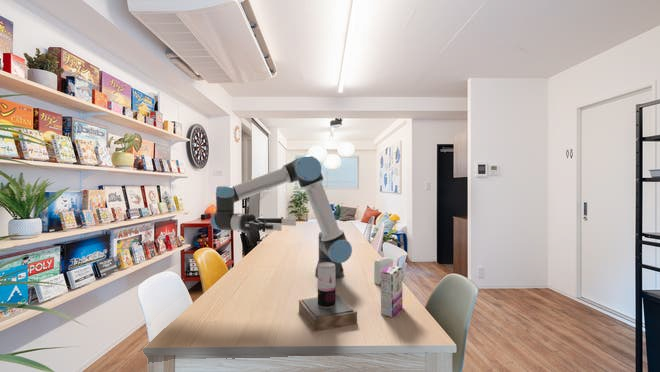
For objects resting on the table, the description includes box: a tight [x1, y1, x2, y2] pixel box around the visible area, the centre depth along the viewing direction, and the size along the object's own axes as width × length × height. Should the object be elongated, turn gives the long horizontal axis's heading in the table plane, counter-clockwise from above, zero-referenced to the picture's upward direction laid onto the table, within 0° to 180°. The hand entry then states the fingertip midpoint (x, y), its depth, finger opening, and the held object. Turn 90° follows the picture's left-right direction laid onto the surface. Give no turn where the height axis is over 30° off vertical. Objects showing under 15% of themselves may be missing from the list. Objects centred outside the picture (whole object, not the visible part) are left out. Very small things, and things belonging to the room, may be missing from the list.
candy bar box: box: [380, 264, 404, 318], centre depth 121 cm, size 11×5×16 cm, turn 148°
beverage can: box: [317, 262, 336, 308], centre depth 116 cm, size 7×6×15 cm
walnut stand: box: [298, 293, 358, 332], centre depth 116 cm, size 16×18×4 cm
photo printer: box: [373, 256, 394, 285], centre depth 154 cm, size 10×4×12 cm, turn 123°
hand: (288, 224), depth 129 cm, fingers open, 13 cm apart
